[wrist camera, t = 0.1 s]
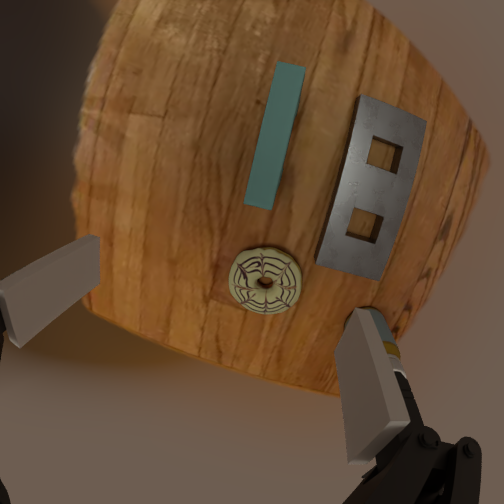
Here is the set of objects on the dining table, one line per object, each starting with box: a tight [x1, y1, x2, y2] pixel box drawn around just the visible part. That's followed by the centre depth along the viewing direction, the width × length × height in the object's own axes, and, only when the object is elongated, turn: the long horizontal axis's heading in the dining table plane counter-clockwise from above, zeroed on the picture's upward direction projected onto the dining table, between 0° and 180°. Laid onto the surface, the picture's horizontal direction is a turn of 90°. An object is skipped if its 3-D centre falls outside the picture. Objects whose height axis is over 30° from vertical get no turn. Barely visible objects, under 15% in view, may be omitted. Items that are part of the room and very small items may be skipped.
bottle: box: [344, 307, 406, 378], centre depth 36 cm, size 7×7×15 cm
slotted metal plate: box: [314, 94, 427, 281], centre depth 34 cm, size 24×10×3 cm, turn 167°
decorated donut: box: [229, 247, 302, 314], centre depth 41 cm, size 10×11×4 cm
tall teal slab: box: [243, 61, 306, 210], centre depth 31 cm, size 16×3×10 cm, turn 167°
